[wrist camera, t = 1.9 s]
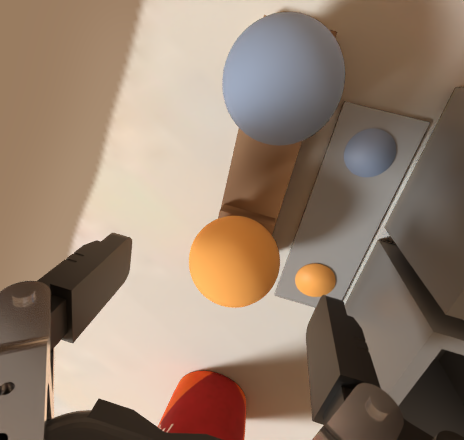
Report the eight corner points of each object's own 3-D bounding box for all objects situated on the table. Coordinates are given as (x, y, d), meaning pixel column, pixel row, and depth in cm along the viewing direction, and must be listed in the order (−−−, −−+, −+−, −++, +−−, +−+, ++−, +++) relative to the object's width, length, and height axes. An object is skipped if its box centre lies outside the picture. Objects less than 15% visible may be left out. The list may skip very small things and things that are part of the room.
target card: (428, 122, 14) (430, 122, 13) (334, 311, 19) (335, 314, 19) (344, 101, 14) (345, 101, 14) (274, 293, 19) (274, 296, 19)
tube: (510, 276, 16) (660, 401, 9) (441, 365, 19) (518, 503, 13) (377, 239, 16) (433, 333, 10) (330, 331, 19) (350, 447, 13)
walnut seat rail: (334, 35, 13) (341, 26, 11) (260, 269, 19) (257, 285, 17) (265, 19, 13) (262, 9, 12) (212, 254, 19) (204, 270, 17)
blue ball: (352, 39, 12) (383, 13, 8) (315, 147, 14) (325, 170, 10) (246, 15, 12) (225, -23, 8) (224, 124, 14) (198, 136, 10)
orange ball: (291, 215, 15) (292, 259, 11) (268, 282, 17) (262, 340, 13) (210, 193, 15) (183, 228, 11) (197, 261, 17) (169, 311, 13)
